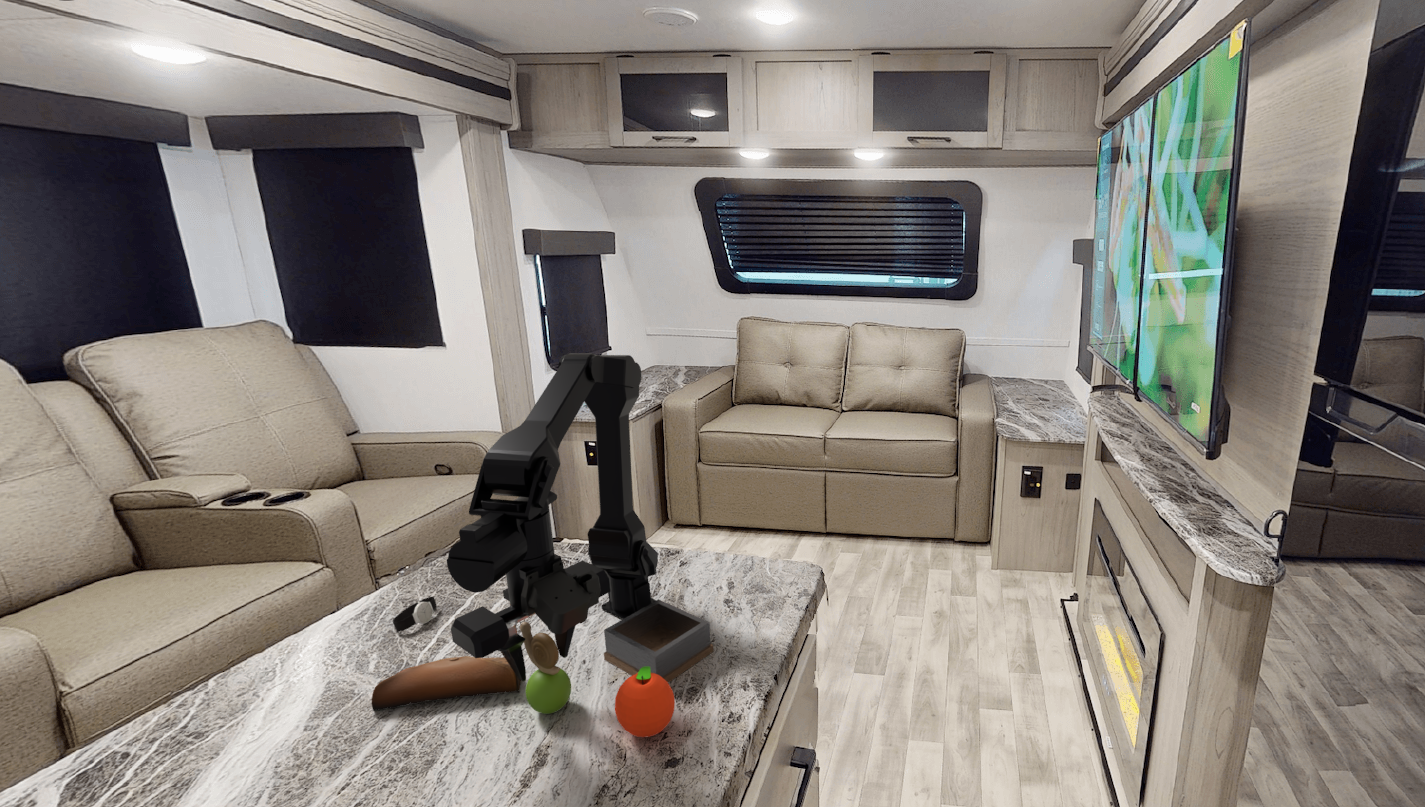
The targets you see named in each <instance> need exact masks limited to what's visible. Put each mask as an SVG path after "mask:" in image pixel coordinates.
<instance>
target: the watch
mask: <svg viewBox="0 0 1425 807" xmlns="http://www.w3.org/2000/svg"><path fill="white" fill-rule="evenodd" d="M437 608H438V606H437V602H436V599H435V597H434V596H429V597H426V598H423V599H421V600H419V601H416V602H415V603H413V604H411V605H410V606H408V607H406V608H404V609H403V610H402V611H401V612H400V613H399V614H397V615H396V616H395V617H394V618H393V619H392V623H393V625H394V628H395V631H396V632H404V631H405V630H408V629H409V628H411V627H414V626H415V625H418V624H420V625H424V624H426V623H429V621H431V620H432V618H433V613H434V611H435V610H436V609H437Z"/></svg>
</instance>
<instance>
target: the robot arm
mask: <svg viewBox="0 0 1425 807" xmlns="http://www.w3.org/2000/svg"><path fill="white" fill-rule="evenodd" d="M641 382H642V370H641V366H640V364H639V363H638V362H636V361H635V359H634V357H632V356H631V355H630V354H629V355H628V354H622V355H621V354H615V355H614V354H604V355H603V354H601V355H600V354H595V353H591V352H590V353H586V352H585V353H579V352H577V353H573V352H572V353H571V352H570V353H567V354H565V355H562V356H561V357H560V358H559V361H558V364H557V370H556V372H554V375H553V376H552V378H551V379H550V381H549V382H548V384H547V386H546V387H545V388H544V389H543V392H542V393H541V395H540V396H539V398H538V400H537V401H536V403H535V404H534V406H533V407H532V409H531V410H530V411H529V413H528V414H527V416H526V417H525V420H523V422H522V423H521V424H520V425H519V426H517V427H515V428H513V429H512V430H510V431H507V432H505V433H504V434H503V435H501V436H500V438H498V439H497V441H496V442H495V443H494V444H493V445H492V446H491V447H490V448H489V450H488V451H487V452H486V454H485V456H484V457H483V459H482V462H481V465H480V470H479V474H478V478H477V479H476V480H477V481H476V484H475V487H474V490H473V494H472V499H471V501H470V504H469V505H470V506H469V509H468V514H469V515H470V516H478V517H479V516H480V518H479V519H477V520H475V521H474V522H472V523H470V524H467V525H464V526H463V527H461V528H460V529H459V532H458V534H459V540H458V541H456V542H455V543H454V544H453V545H452V546H451V547H450V550H449V551H448V556H447V559H446V566H447V569H448V572H449V574H450V576H451V578H452V579H453V580H454V582H455V583H456V584H457V585H458V586H459V588H460V587H461V588H462V589H464V590H465V591H468V592H471V593H475V594H476V593H483V592H486V591H487V590H488V589H490V587H492V586H493V585H494V584H496V583H497V582H498V581H499V580H501V579H502V578H503V577H504V576H505V578H506V583H507V584H506V586H507V588H505V589H503V590H502V596H503V599H504V600H506V601H507V602H509V606H508V607H506V608H503V609H502V610H500V611H498V612H496V613H495V612H492V611H491V610H490V609H489V608H486V607H485V606H483V605H482V606H481V607H478V608H476V609H474V610H472V611H469V612H467V613H465V614H463V615H460V616H459V617H456V618H455V619H454V620H453V622H452V624H451V627H450V632H451V640H452V642H453V643H454V644H455V645H457V646H458V647H459V648H461V649H462V650H464V651H465V652H467V653H468V654H469V655H471V657H475V658H486V657H487V656H488V655H491V654H492V653H495V652H496V651H498V652H500V653H501V654H502V656H503V657H505V659H506V660H507V662H508V663H509V665H510V666H511V668H512V669H513V671H514V672H515V674H516V675H517V677H518V678H519V679H520V680H521V682H525V681H526V680H527V670H526V664H525V660H524V653H523V645H524V641H525V638H524V637H523V635H520V634H519V633H518V629H517V628H518V627H517V626H518V625H517V624H518V623H520V622H522V621H524V619H525V620H526V619H527V618H530V617H532V616H534V615H536V617H538V618H539V619H540V620H541V621H542V622H543V624H544V625H545V626H546V627H547V630H549V631H550V633H552V634H554V638H555V639H554V641H555V643H556V645H557V648H558V652H559V657H562V658H564V659H566V658H567V657H568V655H569V652H570V647H571V644H572V640H573V636H574V632H575V628H576V626H577V625H579V624H583V623H584V622H586V621H587V619H588V615H589V609H590V608H592V607H593V606H596V605H598V604H599V603H600V598H601V597H603V596H605V595H607V594H608V601H607V602H604V603H602V604H601V610H603V611H605V612H608V613H609V614H611V615H613V616H615V617H617V618H620V619H621V620H623V619H624V618H626V617H628V616H630V615H631V614H633V613H635V612H637V611H639V610H640V609H642V608H644V607H646V606H647V605H649V604H651V603H653V602H655V601H656V600H657V599H654V598H652V596H651V584H650V582H649V577H651V576H655V575H656V574H657V567H658V563H659V559H658V558H659V553H658V551H656V549H655V548H654V547H653V546H652V545H651V544H650V543H649V542H648V541H647V536H646V535H647V534H646V528H645V524H644V523H643V522H642V521H641V519H640V518H639V516H638V514H637V513H636V511H635V510H634V502H633V500H634V499H633V480H632V457H631V456H632V455H631V437H630V435H631V434H630V413H631V411H632V409H633V408H634V406H635V404H636V403H637V400H638V399H639V397H640V384H641ZM584 403H585V406H587V408H588V409H589V411H590V412H591V414H592V415H593V417H594V421H595V423H594V424H595V439H596V440H595V441H596V444H595V445H596V458H597V461H596V462H597V477H598V480H597V481H598V498H599V516H598V517H597V519H596V520H595V523H594V525H593V527H590V528H589V529H588V532H587V542H588V548H587V549H588V551H587V555H588V557H589V560H590V562H591V563H589V562H587V561H585V560H581V561H578V562H576V563H574V564H572V565H570V566H567V567H564V562H563V561H562V557H561V556H560V555H559V554H557V553H555V547H554V538H553V530H552V529H553V528H552V521H551V511H550V505H551V504H552V503H553V502H555V501H557V500H558V494H557V493H555V492H553V491H551V490H552V487H553V485H554V483H555V480H556V477H557V474H558V471H559V469H560V467H561V459H560V455H559V454H560V453H559V449H560V445H561V443H562V441H563V439H565V436H566V435H567V432H568V431H569V429H570V427H571V426H572V423H573V421H574V420H575V419H576V417H577V415H578V413H579V411H580V410H581V408H582V406H583V405H584ZM493 495H494V496H504V497H505V496H506V497H516V499H514V500H512V499H499V498H492V496H493Z"/></svg>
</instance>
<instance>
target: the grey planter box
mask: <svg viewBox="0 0 1425 807" xmlns="http://www.w3.org/2000/svg"><path fill="white" fill-rule="evenodd" d="M655 600H656V601H655V602H653V603H651V604H649V605H647V606H646V607H644V608H642V609H640V610H639V611H637V612H635V613H633V614H631V615H630V616H628V617H626V618H624V619H621V620H618V621H616V622H615V623H614V624H611V625H610V626H608V627H606V628H605V629H603V632H604V643H605V652H603V659H604V661H606V662H608V663H610V664H611V665H613V666H615V667H617V668H619V669H620V670H622V671H623V672H626V673H627V674H629V675H630V676H632V675H634V674H637V673H638V672H639V670H640V669H641V668H642V667H645V666H650V669H651V673H655V674H658V675H660V676H661V677H662V678H664V679H665V680H666V681H667V682H668V684H670V682H672V681H673V680H674V679H675V678H677V677H679V676H680V675H682V674H683V673H684V672H685V673H686V671H687V670H689V669H690V668H692V667H693V666H694V665H696V664H697V663H699V662H701V661H702V660H704V659H705V658H706V657H708V656H709V655H711V654H712V653H714V651H715V650H714V649H715V648H714V644H712V642H711V627H710V621H707V620H705V619H703V618H700V617H698V616H696V615H693V614H692V613H691V612H687V611H685V610H683V609H680V608H679V607H677V606H674V605H671V604H669V603H668V602H665V601H663V600H661V599H655Z"/></svg>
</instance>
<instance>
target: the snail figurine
mask: <svg viewBox="0 0 1425 807" xmlns="http://www.w3.org/2000/svg"><path fill="white" fill-rule="evenodd" d="M519 623H520V626H519V631H520V633H521V634H522V635H521V636H522V637H524V638H525V641H524V643H523V645H524V648H525V651H526V653H527V655H528V658H529V660H530V661H531V663H532V664H533V665H534V666H535V668H537V669H536V670H535V671H534V672H533V673H532V674H531V675H530V677H529V678H528V680H527V683H526V685H525V698H526V701H527V704H528V706H530V707H531V708H532V709H533V710H534V711H535V712H537V713H539V714H545V715H549V714H553V713H556V712H559V711H560V710H561V709H563V707H564V706H565V705H566V704H567V702H568V701H569V700H570V697H571V694H572V693H571V692H572V682H571V679H570V676H569V675H568V674H567V672H566V671H565V670H564V669H562V668H561V667H559V666H557V664H558V662H559V657H560V654H559V651H558V648H557V644H556V641H555V639H553V638H552V636H550V635H549V634H548V633H546V632H538V633H537V632H536V634H534V635H533V634H532V625H531V623H529V622H528V621H526V619H524V620H523V622H522V621H520V622H519Z"/></svg>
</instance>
